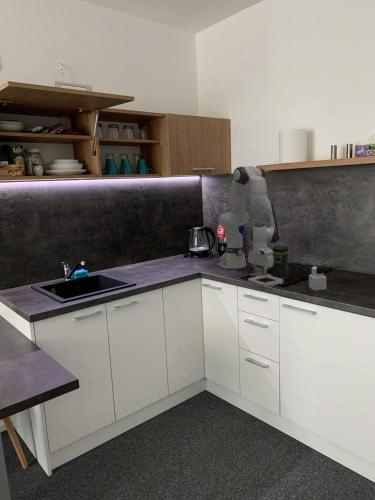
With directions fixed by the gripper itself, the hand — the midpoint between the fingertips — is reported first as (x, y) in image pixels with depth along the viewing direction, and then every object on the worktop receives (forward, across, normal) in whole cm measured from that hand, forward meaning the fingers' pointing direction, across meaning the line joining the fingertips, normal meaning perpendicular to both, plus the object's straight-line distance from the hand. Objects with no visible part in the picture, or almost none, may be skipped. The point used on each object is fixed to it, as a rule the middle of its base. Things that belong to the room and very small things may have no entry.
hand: (260, 272), depth 241 cm
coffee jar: (+3, +5, +12) cm, 13 cm away
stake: (+3, 0, 0) cm, 3 cm away
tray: (+3, +14, -8) cm, 16 cm away
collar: (+2, 0, 0) cm, 2 cm away
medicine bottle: (+3, +40, +6) cm, 41 cm away
